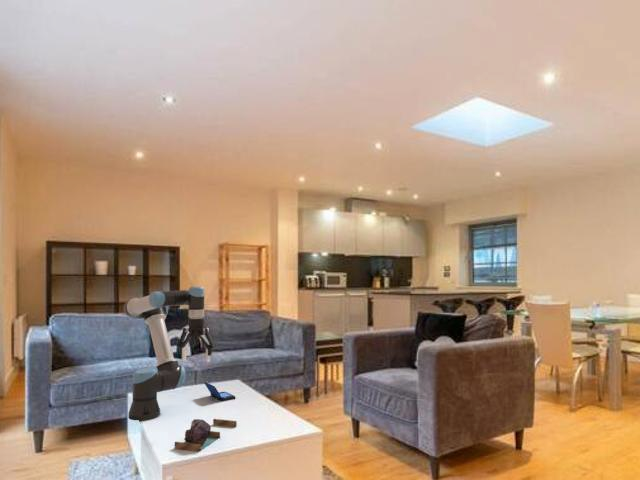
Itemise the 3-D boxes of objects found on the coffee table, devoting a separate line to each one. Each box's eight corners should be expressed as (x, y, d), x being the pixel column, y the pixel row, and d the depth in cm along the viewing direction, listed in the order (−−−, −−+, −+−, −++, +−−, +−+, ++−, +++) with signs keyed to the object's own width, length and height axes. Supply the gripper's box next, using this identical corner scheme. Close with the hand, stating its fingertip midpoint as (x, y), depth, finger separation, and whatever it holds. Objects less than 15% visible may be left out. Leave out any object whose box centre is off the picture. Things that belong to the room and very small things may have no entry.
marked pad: (177, 447, 187) (177, 446, 187) (194, 436, 199) (194, 435, 199) (201, 450, 184) (201, 449, 184) (217, 439, 196) (217, 438, 196)
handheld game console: (236, 399, 258) (236, 382, 258) (214, 403, 250) (214, 386, 250) (224, 393, 270) (224, 377, 271) (203, 397, 262) (203, 381, 263)
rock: (191, 452, 184) (214, 445, 190) (191, 432, 183) (215, 426, 189) (182, 439, 194) (204, 433, 199) (182, 419, 193) (205, 414, 199)
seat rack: (174, 448, 186) (174, 442, 186) (214, 424, 215) (214, 418, 215) (199, 451, 182) (199, 445, 182) (236, 426, 211) (236, 421, 211)
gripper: (170, 318, 223) (169, 361, 222) (214, 319, 215) (214, 364, 214) (179, 316, 230) (178, 358, 229) (222, 317, 223) (222, 361, 221)
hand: (195, 361), depth 221 cm, fingers open, 13 cm apart
